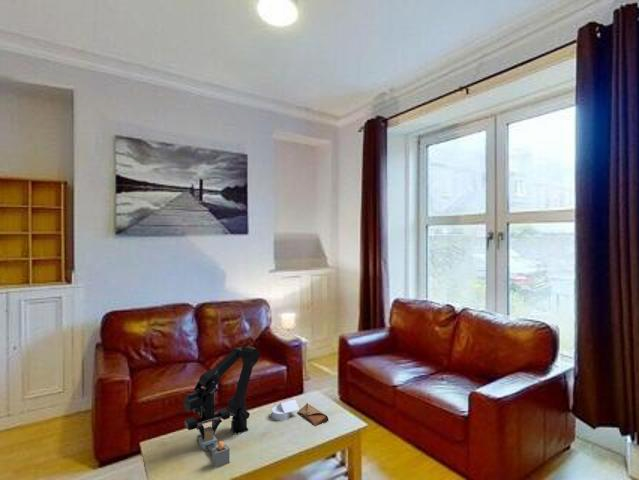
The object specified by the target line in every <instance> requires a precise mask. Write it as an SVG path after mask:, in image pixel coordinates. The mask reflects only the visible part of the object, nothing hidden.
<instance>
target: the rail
mask: <svg viewBox="0 0 639 480" xmlns="http://www.w3.org/2000/svg"><path fill="white" fill-rule="evenodd" d="M196 436H197V437H196V440H197V441H198V438H199V437H201V434H198V435H196ZM216 447H217V446H215V445H214V444H210V445H207V446H206V449H205V450H206V451H207V452H208V453H209V455H210V456H211V457H212V449H213V448H216Z"/></svg>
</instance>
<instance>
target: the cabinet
mask: <svg viewBox="0 0 639 480" xmlns="http://www.w3.org/2000/svg"><path fill="white" fill-rule="evenodd" d="M215 447H216V448H213V449H212V456H211V464H212V465H213V467H214V468H215V469H217V468H220V467H222V466H224V465H225V466H226V465H228V464H230V458H231V457H230V456H231V455H230V447H229V445H228V444H227V443H225V444H224V447H223V450H222V451H218V446H215Z"/></svg>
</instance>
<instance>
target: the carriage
mask: <svg viewBox="0 0 639 480" xmlns="http://www.w3.org/2000/svg"><path fill="white" fill-rule="evenodd" d="M197 442H198V443H199V444H200V446H201V448H202V449H203V450H204V451H205V450H207V449H206V446H207V445H210V444H214V445H215V447H217V443H218V439H217V437H216V436H215V434H214V430H213V429H212V425H211V426H208V427H204V439H202V437H199V438H198V440H197Z"/></svg>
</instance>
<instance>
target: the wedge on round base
mask: <svg viewBox="0 0 639 480" xmlns="http://www.w3.org/2000/svg"><path fill="white" fill-rule="evenodd" d="M299 410H300V407H299V405H298V403H297V401H296V399H292V400H287V401H284V402H280V403H279V404H278V405H276V406H274V407H273V408H272V409H271V418H272V419H273V420H275V421H284V420H288V419H289V418H290V412H294V411H299ZM288 417H289V418H288Z"/></svg>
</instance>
